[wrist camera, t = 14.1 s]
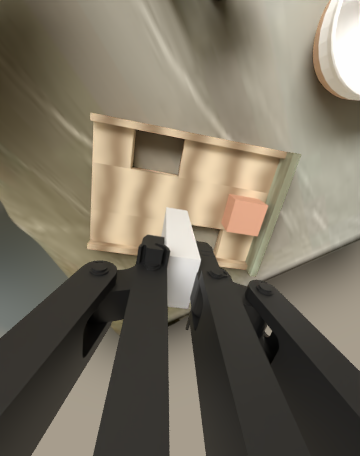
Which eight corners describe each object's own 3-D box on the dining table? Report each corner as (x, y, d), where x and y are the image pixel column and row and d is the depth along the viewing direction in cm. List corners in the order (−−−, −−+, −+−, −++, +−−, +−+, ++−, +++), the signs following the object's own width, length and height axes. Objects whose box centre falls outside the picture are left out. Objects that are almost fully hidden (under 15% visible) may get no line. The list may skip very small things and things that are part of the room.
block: (221, 222, 40) (226, 231, 36) (229, 193, 38) (235, 199, 34) (249, 227, 40) (257, 236, 37) (258, 199, 38) (268, 205, 35)
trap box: (94, 239, 42) (83, 254, 37) (98, 115, 34) (85, 110, 29) (245, 260, 46) (255, 276, 40) (282, 152, 38) (301, 154, 32)
